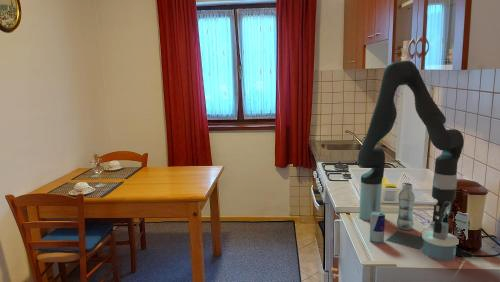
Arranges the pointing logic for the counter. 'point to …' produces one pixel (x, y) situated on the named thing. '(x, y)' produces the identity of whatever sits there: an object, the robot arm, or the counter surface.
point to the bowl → (439, 251)
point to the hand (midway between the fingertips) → (440, 229)
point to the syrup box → (463, 222)
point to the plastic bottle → (406, 207)
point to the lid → (441, 237)
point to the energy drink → (377, 227)
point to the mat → (406, 239)
